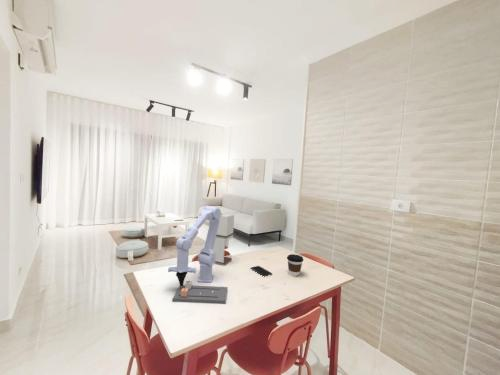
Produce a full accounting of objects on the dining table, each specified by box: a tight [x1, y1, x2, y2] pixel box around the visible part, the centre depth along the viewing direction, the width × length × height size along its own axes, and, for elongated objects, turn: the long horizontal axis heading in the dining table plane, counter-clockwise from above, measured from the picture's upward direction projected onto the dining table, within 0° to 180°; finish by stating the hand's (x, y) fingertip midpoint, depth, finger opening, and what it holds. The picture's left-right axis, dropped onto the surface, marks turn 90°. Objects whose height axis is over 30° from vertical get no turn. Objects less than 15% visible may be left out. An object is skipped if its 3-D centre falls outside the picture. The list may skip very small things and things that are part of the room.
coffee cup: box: [286, 253, 304, 277], centre depth 152 cm, size 11×11×12 cm
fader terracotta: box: [181, 288, 188, 297], centre depth 114 cm, size 3×3×3 cm
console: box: [172, 284, 229, 305], centre depth 119 cm, size 14×26×2 cm, turn 92°
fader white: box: [184, 280, 193, 289], centre depth 122 cm, size 3×3×3 cm
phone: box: [250, 265, 273, 278], centre depth 153 cm, size 8×1×15 cm
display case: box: [213, 212, 235, 267], centre depth 166 cm, size 11×11×35 cm
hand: (181, 285), depth 122 cm, fingers closed
